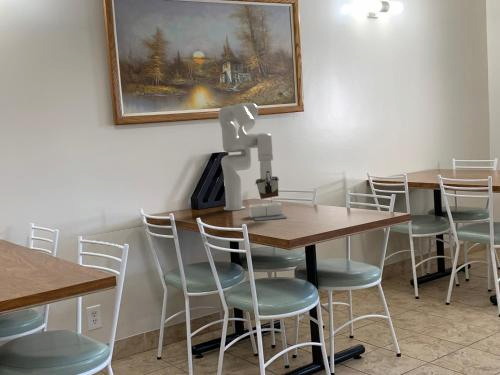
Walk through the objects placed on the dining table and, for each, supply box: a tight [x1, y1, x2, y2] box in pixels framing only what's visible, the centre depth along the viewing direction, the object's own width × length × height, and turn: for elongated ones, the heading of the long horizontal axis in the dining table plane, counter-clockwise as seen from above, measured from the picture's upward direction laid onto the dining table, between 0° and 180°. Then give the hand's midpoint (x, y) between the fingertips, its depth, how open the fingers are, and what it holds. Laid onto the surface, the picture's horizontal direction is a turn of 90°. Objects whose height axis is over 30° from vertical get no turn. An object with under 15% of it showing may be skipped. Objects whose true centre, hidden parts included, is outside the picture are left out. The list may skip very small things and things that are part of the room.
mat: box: [252, 213, 288, 222], centre depth 329 cm, size 12×16×1 cm
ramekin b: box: [263, 202, 283, 216], centre depth 337 cm, size 8×8×6 cm
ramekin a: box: [248, 203, 266, 219], centre depth 336 cm, size 8×8×6 cm
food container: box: [255, 176, 280, 200], centre depth 328 cm, size 12×6×10 cm, turn 95°
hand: (267, 192), depth 328 cm, fingers closed on food container, 5 cm apart
